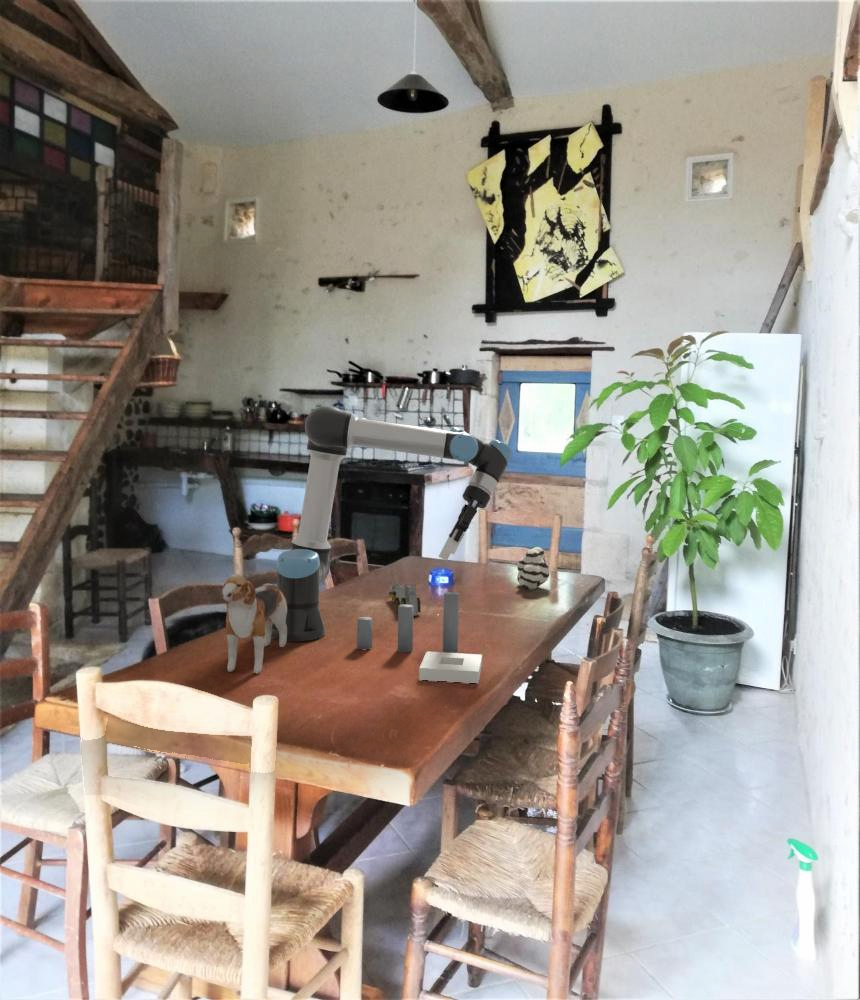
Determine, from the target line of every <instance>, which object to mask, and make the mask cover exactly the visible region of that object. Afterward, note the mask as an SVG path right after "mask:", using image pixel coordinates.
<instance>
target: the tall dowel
mask: <svg viewBox="0 0 860 1000" xmlns="http://www.w3.org/2000/svg"><path fill="white" fill-rule="evenodd" d="M459 609H460V592H455V591H447V592H444V593H443V613H442V614H443V617H442V618H443V619H442V620H443V621H442V625H443V626H442V651H441V652H446V653H459V652H458V650H459V621H460V620H459V614H460V613H459V612H460V610H459Z"/></svg>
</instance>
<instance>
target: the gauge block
mask: <svg viewBox="0 0 860 1000" xmlns="http://www.w3.org/2000/svg"><path fill="white" fill-rule="evenodd" d="M424 654H425V655H424V657H423V658H422V661H421V663H420V666H419V669H418V681H422V680H428V681H427V682H437V681H447V682H446V683H453V682H463V683H462V684H469V683H477V684H476V685H479V684H478V683H479V682H480V679H481V673H482V668H483V667H482V666H483V654H479V653H478V654H477V653H462V652H461V653H460V652H458V653H446V652H442V651H429V650H428V651H426V652H425V653H424ZM481 667H482V668H481Z"/></svg>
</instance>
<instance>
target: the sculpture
mask: <svg viewBox="0 0 860 1000" xmlns="http://www.w3.org/2000/svg"><path fill="white" fill-rule="evenodd" d="M516 567H517V571H518V573H517V579H516V580H517V582H518V584H519V587H520V588H522V589H524V590H535V589H536V588H538V587H540V586H541V585H543V584H545V583H546V582H547V581H548V580H549V577H550V573H551V572H550V567H549V564H548V562H547V561H546V559H545V551H544V548H542V547H540V546H535V547H533V548H531V549H529V550H528V551H526V553H525V555H524V556H523V557H522V558H521V559H519V560H518V562H517V566H516Z"/></svg>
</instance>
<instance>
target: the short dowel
mask: <svg viewBox="0 0 860 1000" xmlns="http://www.w3.org/2000/svg"><path fill="white" fill-rule="evenodd" d="M356 621H357V627H356V649H357V648H358V649H357V650H359V649H370V648H372V649H373V618H372V617H370V616H360V617H357V619H356ZM370 650H371V649H370Z"/></svg>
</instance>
